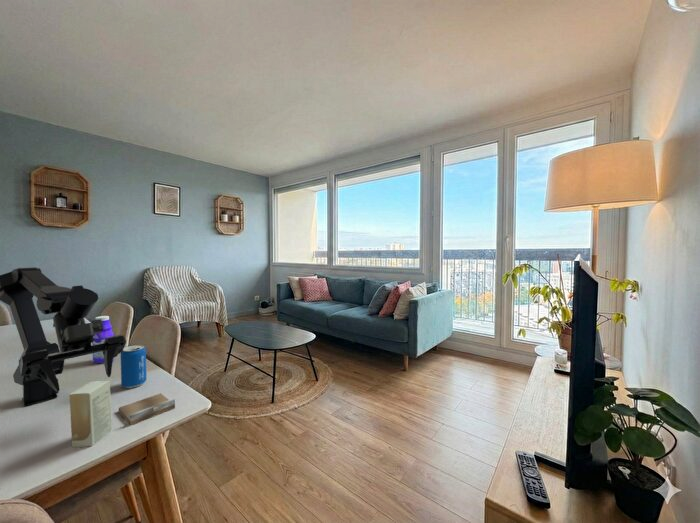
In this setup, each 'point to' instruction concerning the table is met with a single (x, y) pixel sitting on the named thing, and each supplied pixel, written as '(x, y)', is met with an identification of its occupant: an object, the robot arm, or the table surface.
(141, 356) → the beverage can
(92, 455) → the table surface
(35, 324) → the robot arm
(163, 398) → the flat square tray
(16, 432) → the table surface
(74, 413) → the skincare box
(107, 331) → the bottle
